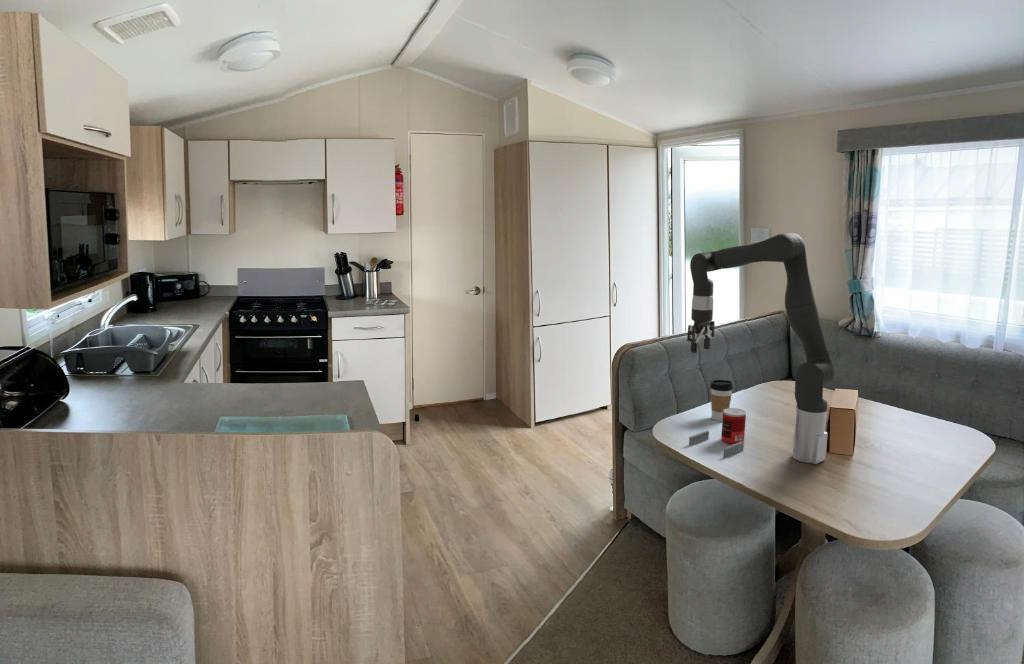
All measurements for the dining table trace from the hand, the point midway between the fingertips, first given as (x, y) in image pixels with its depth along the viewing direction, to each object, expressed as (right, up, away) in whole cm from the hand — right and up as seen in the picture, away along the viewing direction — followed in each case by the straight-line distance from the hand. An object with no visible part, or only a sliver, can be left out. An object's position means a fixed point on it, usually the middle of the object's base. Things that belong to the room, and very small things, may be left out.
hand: (700, 350), depth 260 cm
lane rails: (+1, -33, -18) cm, 37 cm away
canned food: (+8, -32, -11) cm, 35 cm away
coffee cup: (+11, -27, +12) cm, 31 cm away
